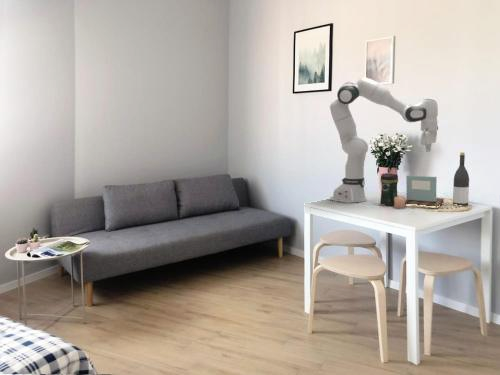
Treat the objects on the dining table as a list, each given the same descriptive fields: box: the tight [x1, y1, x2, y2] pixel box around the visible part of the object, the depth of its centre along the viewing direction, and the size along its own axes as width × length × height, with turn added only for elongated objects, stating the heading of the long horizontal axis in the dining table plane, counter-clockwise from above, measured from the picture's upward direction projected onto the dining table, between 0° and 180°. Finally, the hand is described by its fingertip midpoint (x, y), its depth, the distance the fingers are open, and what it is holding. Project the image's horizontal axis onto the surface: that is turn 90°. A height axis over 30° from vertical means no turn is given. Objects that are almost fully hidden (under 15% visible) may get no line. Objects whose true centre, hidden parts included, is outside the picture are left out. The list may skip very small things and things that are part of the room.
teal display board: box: [405, 174, 437, 202], centre depth 261 cm, size 16×14×1 cm
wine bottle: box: [452, 151, 470, 207], centre depth 263 cm, size 8×8×30 cm
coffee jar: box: [380, 172, 399, 207], centre depth 272 cm, size 10×8×19 cm
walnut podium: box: [405, 197, 445, 207], centre depth 268 cm, size 18×16×8 cm
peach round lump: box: [393, 195, 406, 210], centre depth 263 cm, size 6×6×6 cm
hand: (428, 151), depth 269 cm, fingers closed
